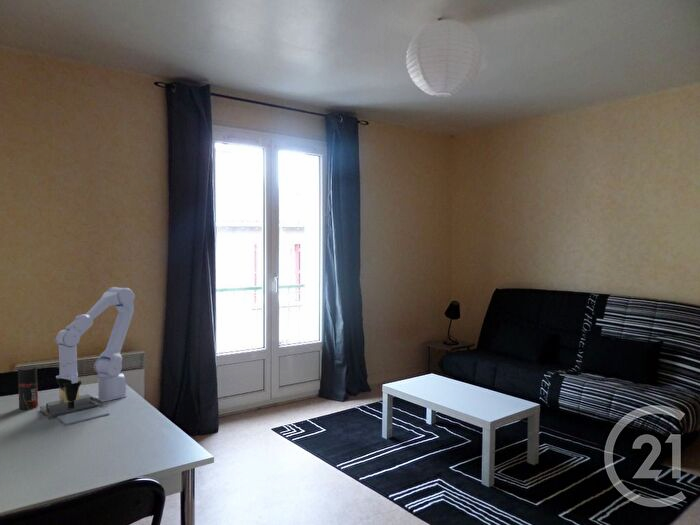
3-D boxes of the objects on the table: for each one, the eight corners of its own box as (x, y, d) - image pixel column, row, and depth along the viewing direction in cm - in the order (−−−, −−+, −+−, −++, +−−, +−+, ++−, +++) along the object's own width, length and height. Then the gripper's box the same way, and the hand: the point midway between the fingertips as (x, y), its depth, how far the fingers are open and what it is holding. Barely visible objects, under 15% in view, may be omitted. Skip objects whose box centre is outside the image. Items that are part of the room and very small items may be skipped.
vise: (87, 400, 191) (86, 381, 191) (98, 407, 183) (97, 387, 183) (40, 410, 180) (39, 390, 180) (49, 418, 172) (49, 397, 171)
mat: (99, 408, 182) (99, 406, 182) (109, 414, 176) (109, 412, 175) (57, 418, 172) (57, 416, 172) (66, 425, 165) (66, 423, 165)
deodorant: (31, 410, 180) (29, 370, 180) (15, 410, 180) (13, 370, 180) (41, 405, 186) (40, 366, 186) (26, 405, 186) (24, 366, 186)
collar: (74, 396, 185) (74, 385, 185) (78, 399, 181) (78, 387, 181) (59, 399, 181) (59, 387, 181) (63, 402, 178) (63, 390, 178)
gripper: (50, 361, 183) (51, 396, 183) (62, 367, 173) (63, 405, 173) (70, 357, 188) (71, 392, 189) (83, 364, 178) (84, 401, 179)
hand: (69, 398), depth 181 cm, fingers open, 6 cm apart
